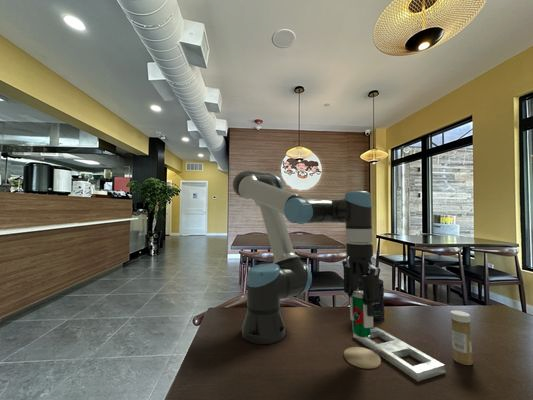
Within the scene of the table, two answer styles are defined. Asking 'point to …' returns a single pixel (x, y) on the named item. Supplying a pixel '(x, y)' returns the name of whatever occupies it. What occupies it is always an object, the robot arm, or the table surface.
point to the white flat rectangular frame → (399, 349)
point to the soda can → (359, 314)
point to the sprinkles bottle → (461, 337)
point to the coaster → (362, 357)
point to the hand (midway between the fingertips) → (361, 322)
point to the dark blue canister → (379, 307)
